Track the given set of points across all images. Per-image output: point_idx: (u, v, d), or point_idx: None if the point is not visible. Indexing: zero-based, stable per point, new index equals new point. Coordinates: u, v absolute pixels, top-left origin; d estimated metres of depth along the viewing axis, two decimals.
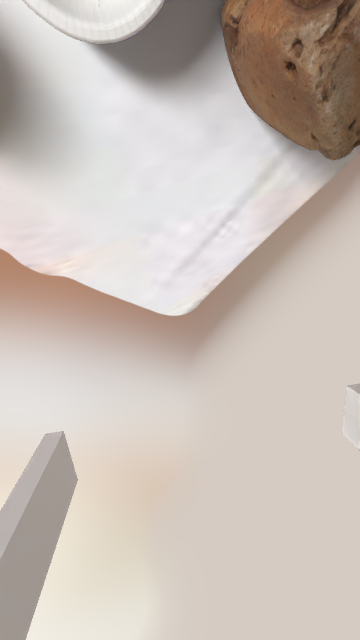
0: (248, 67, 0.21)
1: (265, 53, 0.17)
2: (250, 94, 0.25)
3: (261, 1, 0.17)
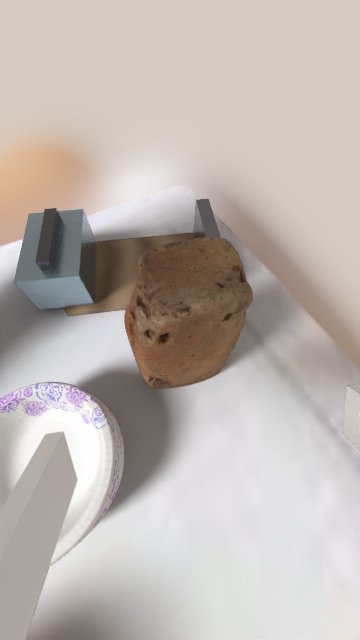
0: (174, 373, 0.25)
1: (156, 359, 0.20)
2: (198, 374, 0.28)
3: (137, 359, 0.23)
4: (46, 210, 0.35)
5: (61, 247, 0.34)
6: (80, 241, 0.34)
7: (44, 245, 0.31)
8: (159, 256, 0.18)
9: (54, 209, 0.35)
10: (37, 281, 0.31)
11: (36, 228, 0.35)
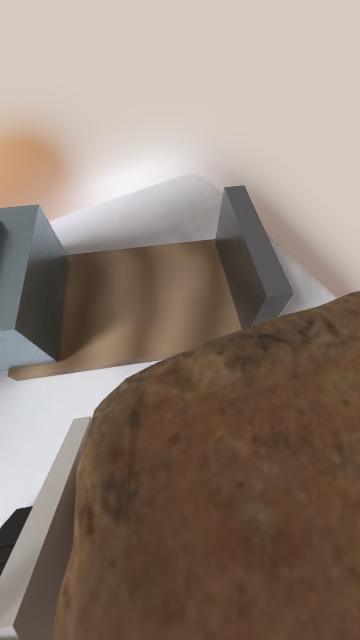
0: None
1: None
2: None
3: None
4: None
5: None
6: (26, 260, 0.19)
7: None
8: (205, 432, 0.03)
9: None
10: None
11: None
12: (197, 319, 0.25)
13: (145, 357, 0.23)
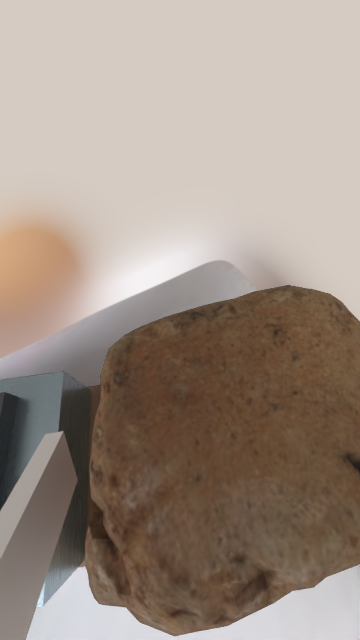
0: None
1: None
2: None
3: None
4: None
5: None
6: None
7: None
8: (161, 356, 0.06)
9: (1, 392, 0.17)
10: None
11: None
12: None
13: None
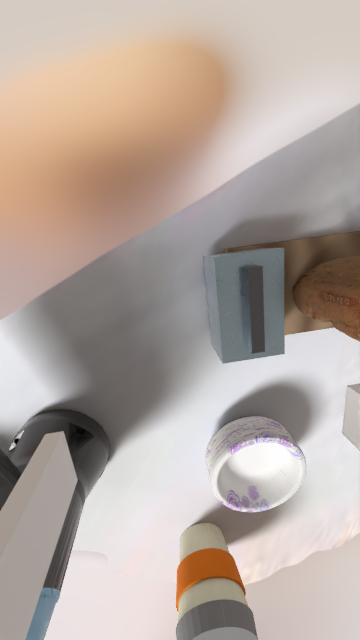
0: None
1: None
2: None
3: (351, 331, 0.26)
4: (250, 270, 0.26)
5: None
6: (283, 306, 0.29)
7: (257, 330, 0.28)
8: None
9: (259, 266, 0.26)
10: (244, 359, 0.31)
11: (229, 285, 0.28)
12: None
13: (309, 330, 0.38)
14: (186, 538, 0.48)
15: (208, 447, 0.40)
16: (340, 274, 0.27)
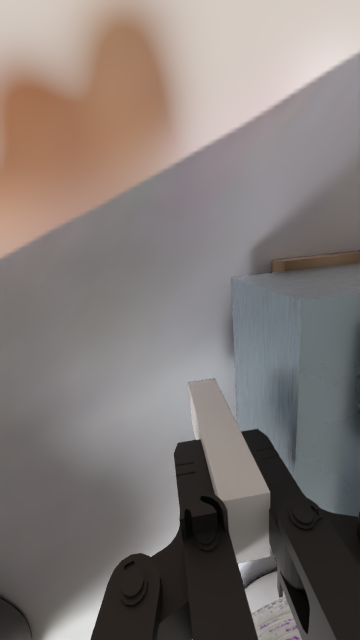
0: None
1: None
2: None
3: None
4: None
5: None
6: None
7: None
8: None
9: None
10: None
11: (340, 393, 0.08)
12: None
13: None
14: None
15: None
16: None
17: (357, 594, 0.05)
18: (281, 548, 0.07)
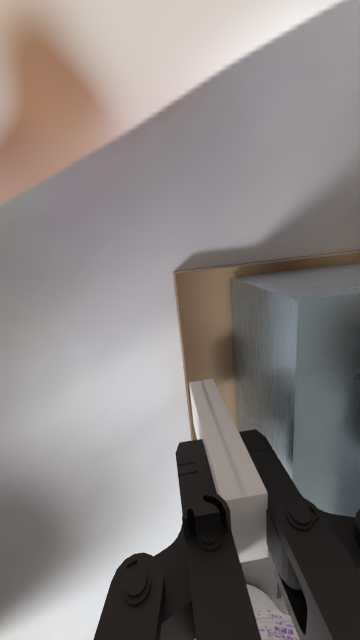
0: None
1: None
2: None
3: None
4: None
5: None
6: None
7: None
8: None
9: None
10: None
11: (337, 394, 0.08)
12: None
13: None
14: None
15: None
16: None
17: (354, 595, 0.05)
18: (279, 549, 0.07)
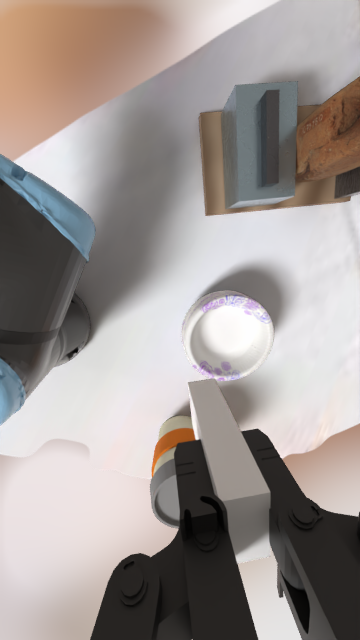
0: (335, 169, 0.32)
1: (356, 155, 0.27)
2: (339, 172, 0.35)
3: (324, 152, 0.29)
4: (268, 93, 0.29)
5: None
6: (295, 144, 0.32)
7: (272, 159, 0.31)
8: None
9: (276, 90, 0.29)
10: (258, 199, 0.34)
11: (247, 117, 0.31)
12: (311, 183, 0.40)
13: (278, 207, 0.41)
14: (164, 427, 0.50)
15: (183, 320, 0.42)
16: None
17: (357, 594, 0.05)
18: (281, 548, 0.07)
